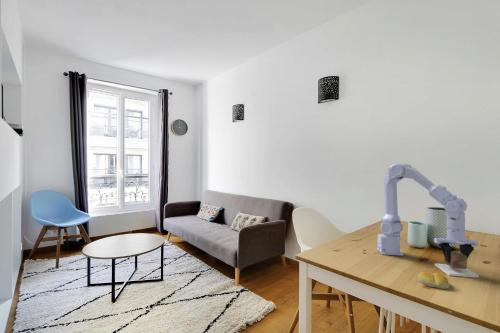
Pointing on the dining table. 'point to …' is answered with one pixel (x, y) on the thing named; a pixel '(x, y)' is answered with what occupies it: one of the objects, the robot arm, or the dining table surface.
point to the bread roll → (433, 280)
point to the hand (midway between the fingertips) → (455, 262)
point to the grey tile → (456, 271)
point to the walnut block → (457, 260)
